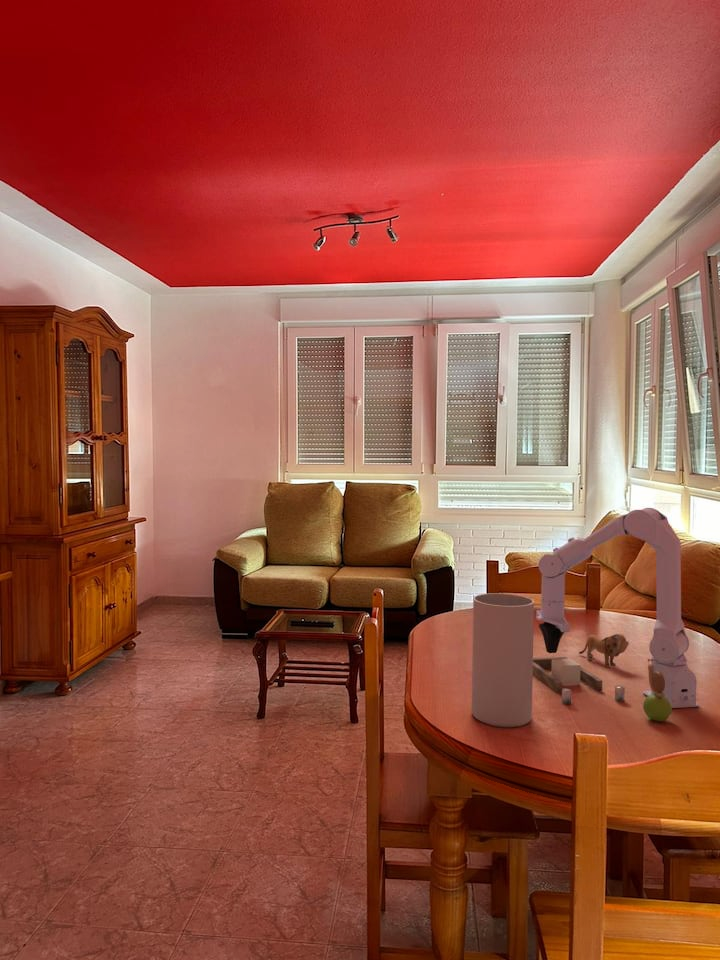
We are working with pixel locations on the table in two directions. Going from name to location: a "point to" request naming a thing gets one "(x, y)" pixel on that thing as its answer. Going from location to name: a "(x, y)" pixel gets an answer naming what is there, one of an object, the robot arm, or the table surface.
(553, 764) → the table surface
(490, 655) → the cylinder vase
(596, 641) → the lion figurine
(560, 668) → the cube
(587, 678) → the stall
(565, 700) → the posts
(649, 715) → the snail figurine
